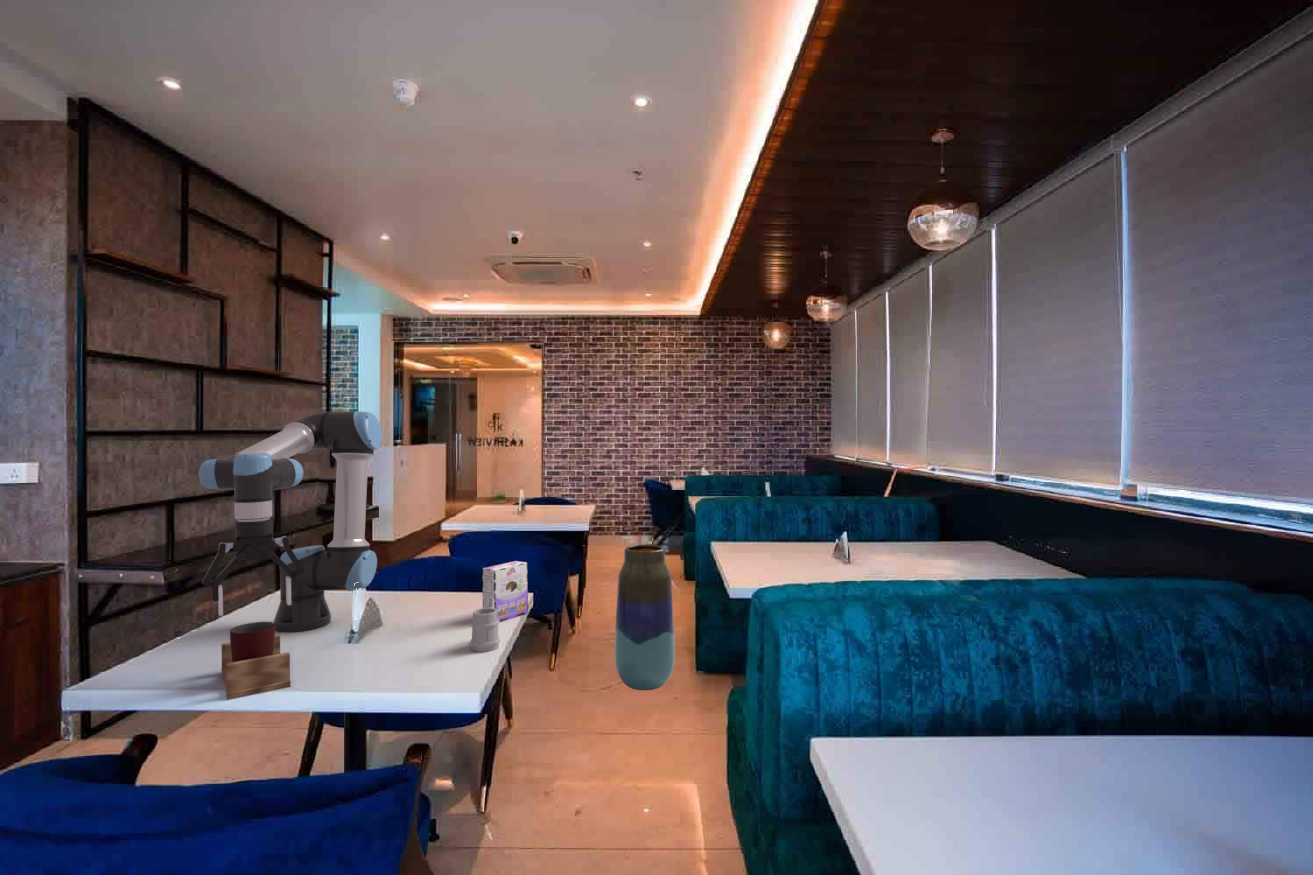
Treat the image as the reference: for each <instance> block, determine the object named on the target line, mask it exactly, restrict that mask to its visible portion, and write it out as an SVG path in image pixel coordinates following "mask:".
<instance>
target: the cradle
mask: <svg viewBox="0 0 1313 875" xmlns="http://www.w3.org/2000/svg"><path fill="white" fill-rule="evenodd" d="M221 676H222V677H221V678H222V681H223V685H224V689H225V695H226V700H227V701H230V700H233V699H238V698H243V697H248V696H253V695H257V694H262V693H267V692H271V691H276V690H281V689H287V688H290V687H291V682H292V681H291V654H290V652H289V651H288V652H282V653H281V635H280V633H279V634H275V637H274V650H273V655H271V656H265V657H260V658H254V659H249V660H243V661H238V662H232V654H231V644H230V642H225V643H221Z"/></svg>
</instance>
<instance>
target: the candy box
mask: <svg viewBox="0 0 1313 875" xmlns="http://www.w3.org/2000/svg"><path fill="white" fill-rule="evenodd" d="M528 581H529V580H528V562H526V561H518V560H514V561H509V562H505V563H501V564H497V565H492V566H488V567H482V608H483V609H484V608H489V602H490V598H491V597H494V605H495V609H496V610H497V617H498V620H499V623H500V622H503V621H506V620H511V619H512V618H513V619H514V618H516V617H519V616H522V615H525V614H528V613H529V600H528V599H529V596H528V595H529V594H528V593H529V589H528V584H529V583H528Z"/></svg>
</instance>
